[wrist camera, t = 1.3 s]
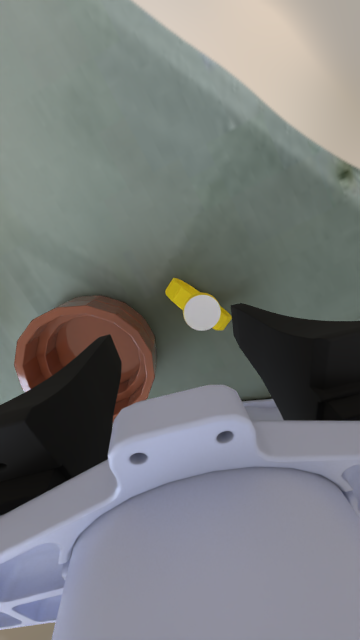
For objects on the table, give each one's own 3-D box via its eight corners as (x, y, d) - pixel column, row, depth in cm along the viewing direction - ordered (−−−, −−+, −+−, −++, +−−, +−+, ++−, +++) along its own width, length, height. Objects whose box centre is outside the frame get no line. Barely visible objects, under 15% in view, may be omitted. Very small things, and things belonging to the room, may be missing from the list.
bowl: (150, 290, 21) (145, 300, 17) (161, 390, 25) (159, 419, 20) (31, 299, 21) (-5, 312, 16) (59, 398, 24) (36, 430, 20)
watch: (227, 301, 22) (248, 319, 16) (211, 323, 22) (225, 348, 17) (177, 267, 20) (180, 275, 15) (161, 292, 21) (158, 308, 15)
